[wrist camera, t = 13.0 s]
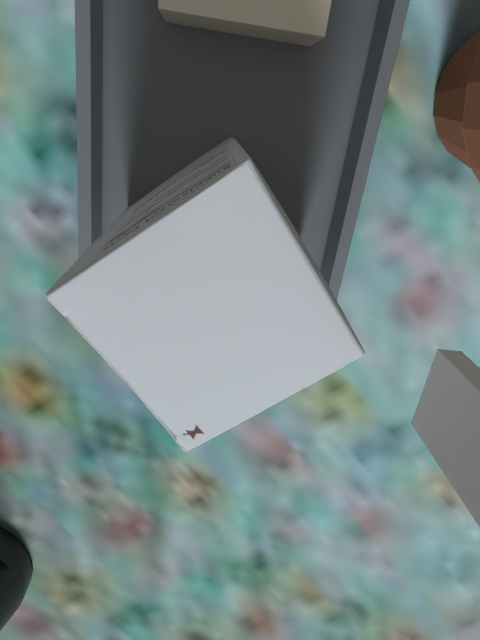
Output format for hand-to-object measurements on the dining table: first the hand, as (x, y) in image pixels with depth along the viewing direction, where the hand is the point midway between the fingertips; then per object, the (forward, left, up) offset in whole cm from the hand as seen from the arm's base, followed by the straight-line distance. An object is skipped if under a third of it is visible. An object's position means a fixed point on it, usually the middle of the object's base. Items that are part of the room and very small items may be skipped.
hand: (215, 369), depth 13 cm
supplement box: (0, -1, -21) cm, 21 cm away
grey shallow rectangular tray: (0, +5, -22) cm, 23 cm away
